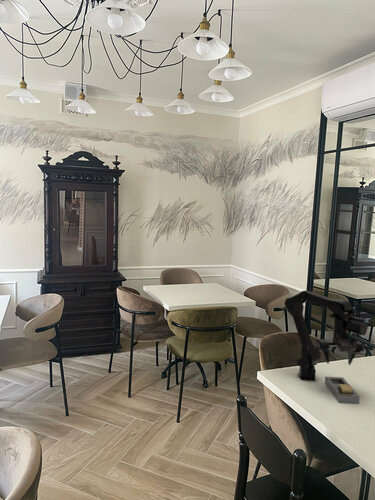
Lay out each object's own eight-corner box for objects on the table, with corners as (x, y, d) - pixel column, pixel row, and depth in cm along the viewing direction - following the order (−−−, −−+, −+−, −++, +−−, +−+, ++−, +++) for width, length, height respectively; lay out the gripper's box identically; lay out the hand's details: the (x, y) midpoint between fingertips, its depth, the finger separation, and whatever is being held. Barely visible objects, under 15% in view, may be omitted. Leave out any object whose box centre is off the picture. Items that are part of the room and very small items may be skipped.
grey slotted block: (338, 402, 145) (339, 395, 145) (324, 382, 163) (325, 376, 163) (358, 403, 145) (359, 396, 145) (342, 383, 163) (342, 377, 163)
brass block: (341, 400, 148) (342, 388, 147) (338, 395, 152) (338, 384, 151) (351, 400, 148) (352, 389, 147) (347, 395, 152) (348, 384, 151)
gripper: (324, 334, 147) (322, 370, 148) (371, 336, 145) (368, 372, 147) (316, 326, 158) (314, 360, 159) (359, 328, 157) (357, 362, 158)
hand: (338, 364), depth 155 cm, fingers open, 9 cm apart
